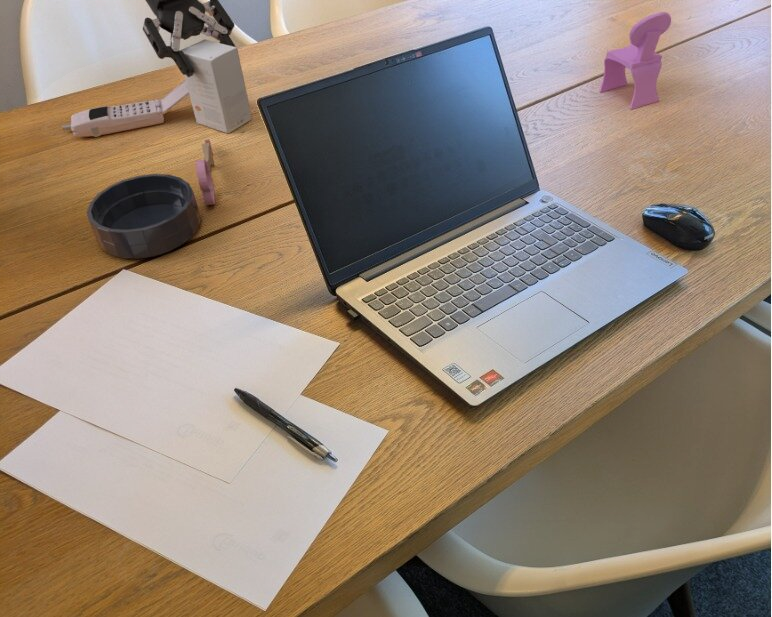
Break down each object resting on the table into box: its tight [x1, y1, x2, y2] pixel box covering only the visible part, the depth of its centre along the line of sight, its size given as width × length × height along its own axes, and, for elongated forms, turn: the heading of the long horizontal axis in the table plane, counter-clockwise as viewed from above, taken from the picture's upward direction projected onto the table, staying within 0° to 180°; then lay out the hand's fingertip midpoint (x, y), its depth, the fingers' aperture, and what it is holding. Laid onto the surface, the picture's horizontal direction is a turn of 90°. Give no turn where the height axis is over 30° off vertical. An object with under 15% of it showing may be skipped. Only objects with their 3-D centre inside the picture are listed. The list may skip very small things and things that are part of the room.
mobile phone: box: [61, 79, 190, 138], centre depth 117 cm, size 6×6×25 cm
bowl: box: [86, 173, 201, 260], centre depth 93 cm, size 14×14×5 cm
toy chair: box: [599, 11, 672, 110], centre depth 113 cm, size 8×9×15 cm
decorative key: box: [195, 139, 216, 206], centre depth 103 cm, size 7×1×20 cm
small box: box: [179, 39, 253, 134], centre depth 113 cm, size 8×6×13 cm
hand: (213, 66), depth 111 cm, fingers open, 8 cm apart
